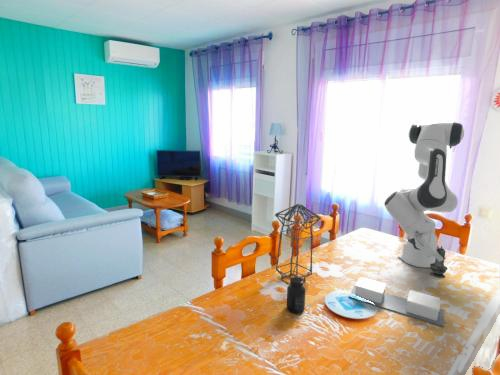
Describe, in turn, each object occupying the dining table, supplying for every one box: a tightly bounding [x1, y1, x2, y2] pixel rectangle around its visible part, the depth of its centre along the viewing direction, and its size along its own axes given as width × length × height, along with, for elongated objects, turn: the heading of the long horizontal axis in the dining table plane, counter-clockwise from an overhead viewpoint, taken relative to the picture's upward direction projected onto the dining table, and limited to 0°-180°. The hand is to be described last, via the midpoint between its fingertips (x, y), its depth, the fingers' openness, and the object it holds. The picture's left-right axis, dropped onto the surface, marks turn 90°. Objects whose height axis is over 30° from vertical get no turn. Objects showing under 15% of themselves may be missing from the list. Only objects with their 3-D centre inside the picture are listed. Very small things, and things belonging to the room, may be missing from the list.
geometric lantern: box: [274, 203, 323, 285], centre depth 137 cm, size 16×16×35 cm
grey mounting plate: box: [350, 276, 445, 328], centre depth 123 cm, size 12×33×5 cm, turn 58°
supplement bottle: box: [286, 276, 307, 315], centre depth 117 cm, size 7×7×12 cm
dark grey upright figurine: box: [429, 246, 448, 279], centre depth 122 cm, size 6×6×12 cm
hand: (441, 258), depth 121 cm, fingers closed on dark grey upright figurine, 3 cm apart
